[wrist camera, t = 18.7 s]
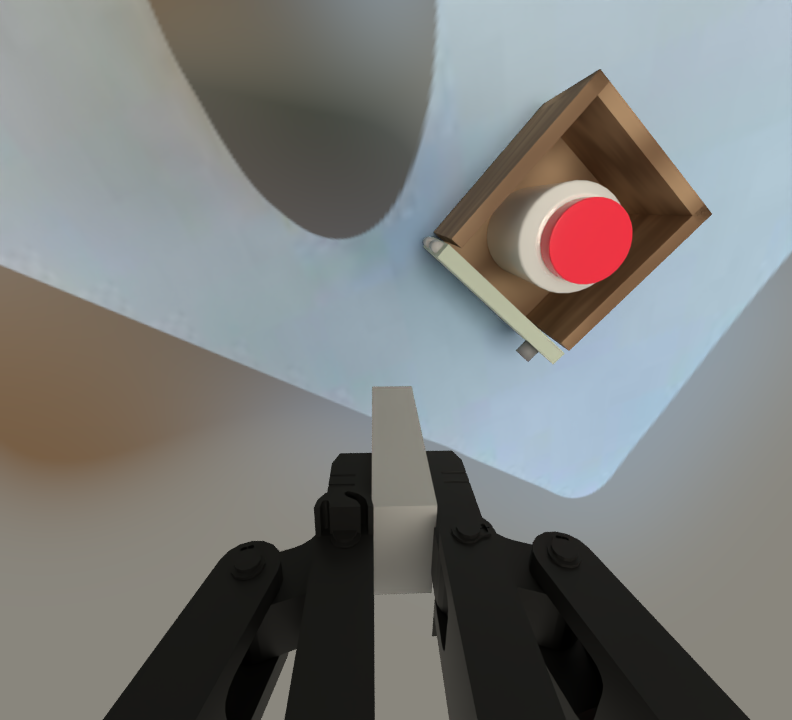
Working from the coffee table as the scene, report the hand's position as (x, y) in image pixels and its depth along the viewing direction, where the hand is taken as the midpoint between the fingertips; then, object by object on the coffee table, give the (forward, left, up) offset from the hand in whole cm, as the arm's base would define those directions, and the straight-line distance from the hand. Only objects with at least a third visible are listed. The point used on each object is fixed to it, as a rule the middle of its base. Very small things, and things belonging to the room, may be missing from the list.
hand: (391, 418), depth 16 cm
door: (+6, +6, -24) cm, 26 cm away
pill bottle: (+7, +13, -24) cm, 28 cm away
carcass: (+7, +14, -24) cm, 29 cm away
